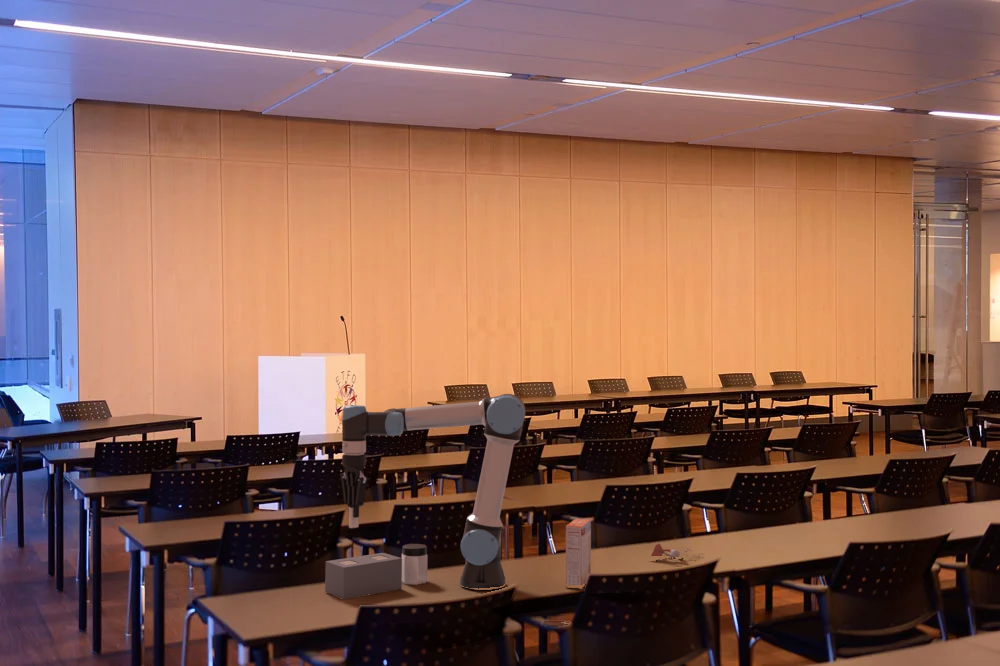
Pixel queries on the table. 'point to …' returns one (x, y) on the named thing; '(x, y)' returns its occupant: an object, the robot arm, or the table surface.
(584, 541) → the cracker box
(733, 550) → the table surface
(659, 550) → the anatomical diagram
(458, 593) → the table surface
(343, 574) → the peg block
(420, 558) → the jar
